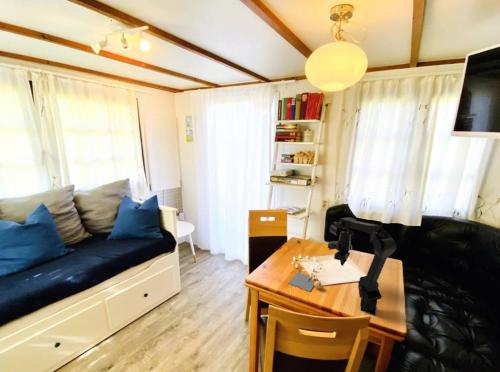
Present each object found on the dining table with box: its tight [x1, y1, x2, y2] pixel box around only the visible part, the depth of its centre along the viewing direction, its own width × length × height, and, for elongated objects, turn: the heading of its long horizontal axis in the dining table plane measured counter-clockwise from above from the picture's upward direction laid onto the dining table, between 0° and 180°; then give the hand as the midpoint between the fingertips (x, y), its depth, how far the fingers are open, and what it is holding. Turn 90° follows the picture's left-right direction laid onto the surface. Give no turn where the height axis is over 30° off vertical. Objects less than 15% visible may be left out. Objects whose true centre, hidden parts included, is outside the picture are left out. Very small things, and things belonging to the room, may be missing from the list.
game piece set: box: [291, 254, 322, 272], centre depth 156 cm, size 19×20×4 cm
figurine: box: [308, 272, 322, 289], centre depth 134 cm, size 8×6×12 cm
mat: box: [287, 271, 319, 293], centre depth 136 cm, size 13×14×1 cm
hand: (342, 265), depth 132 cm, fingers closed
